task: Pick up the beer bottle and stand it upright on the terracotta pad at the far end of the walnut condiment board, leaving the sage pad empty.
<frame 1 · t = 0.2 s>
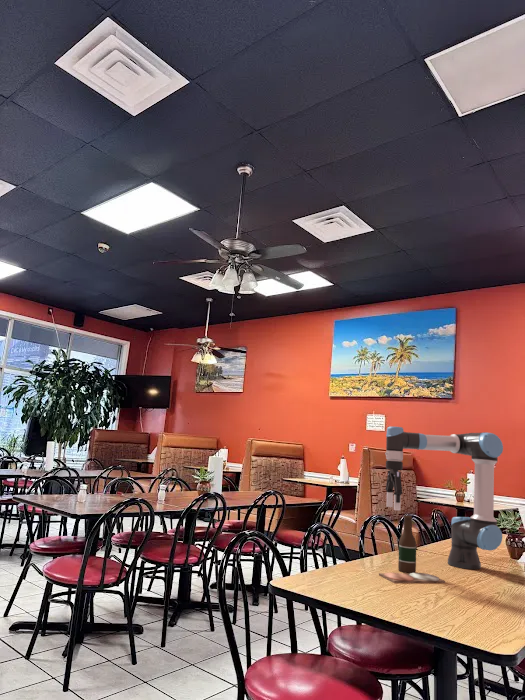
hand: (393, 508, 228), 27 cm above the table, fingers open, 13 cm apart
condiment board: (411, 579, 212), on the table
beer bottle: (407, 572, 225), on the table
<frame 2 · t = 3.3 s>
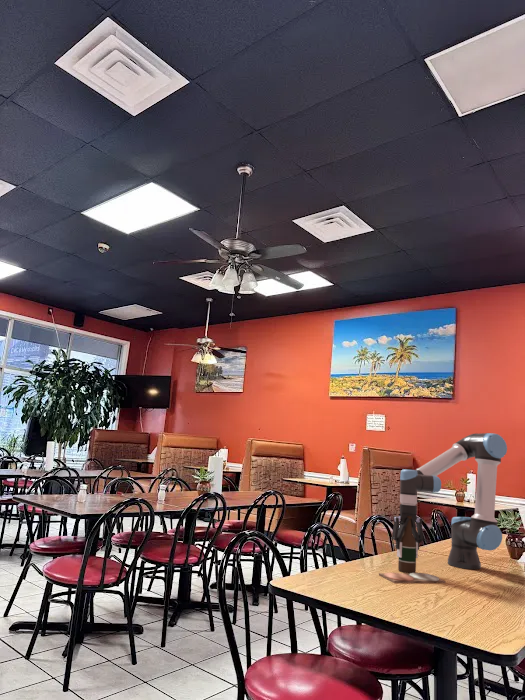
hand: (407, 557, 227), 6 cm above the table, fingers closed on beer bottle, 7 cm apart
beer bottle: (407, 572, 225), on the table, touching gripper
when the fingers open (8 cm above the table, at t = 8.8 s): beer bottle stays where it is, resting on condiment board.
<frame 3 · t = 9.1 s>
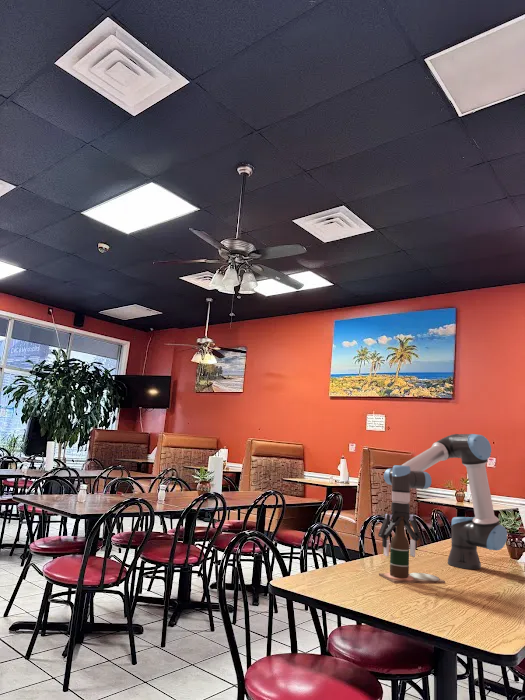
hand: (399, 555, 212), 9 cm above the table, fingers open, 12 cm apart
beer bottle: (399, 576, 210), point 1 cm above the table, touching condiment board
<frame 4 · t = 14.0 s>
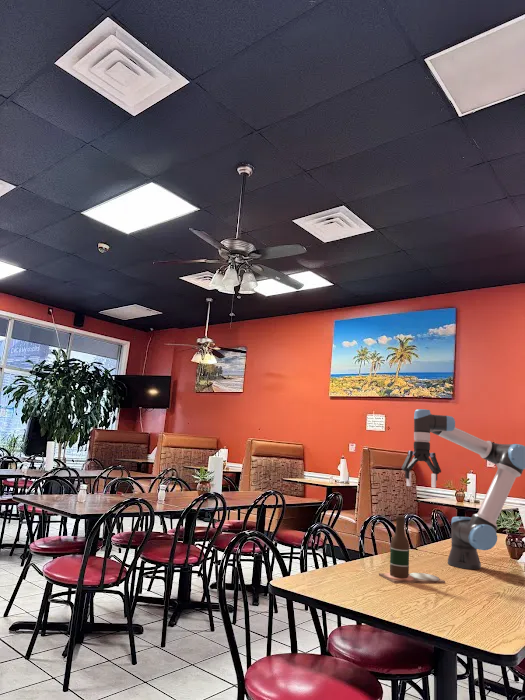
hand: (421, 487, 240), 37 cm above the table, fingers open, 13 cm apart
nothing on the table moved.
at the end: beer bottle inside the target area on the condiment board (0.1 cm from its centre), point 1.0 cm above the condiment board's base; beer bottle tilted 0°; the gripper is holding nothing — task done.
